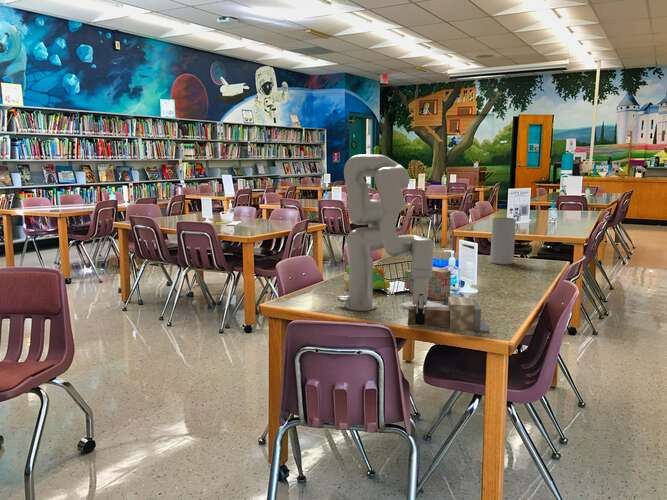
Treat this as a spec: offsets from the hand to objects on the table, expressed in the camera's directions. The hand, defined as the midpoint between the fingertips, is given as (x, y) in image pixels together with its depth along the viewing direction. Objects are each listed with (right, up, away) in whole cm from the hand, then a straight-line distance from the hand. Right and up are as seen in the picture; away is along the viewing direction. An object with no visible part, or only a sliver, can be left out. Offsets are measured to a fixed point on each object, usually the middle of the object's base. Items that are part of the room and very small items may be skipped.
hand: (419, 321), depth 210 cm
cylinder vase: (+64, +18, +119) cm, 137 cm away
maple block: (+14, -1, -1) cm, 14 cm away
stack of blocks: (+10, +6, +44) cm, 46 cm away
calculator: (+7, +2, +20) cm, 21 cm away
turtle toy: (-17, +8, +54) cm, 58 cm away
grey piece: (+21, -1, -2) cm, 21 cm away
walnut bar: (+5, -1, 0) cm, 5 cm away
